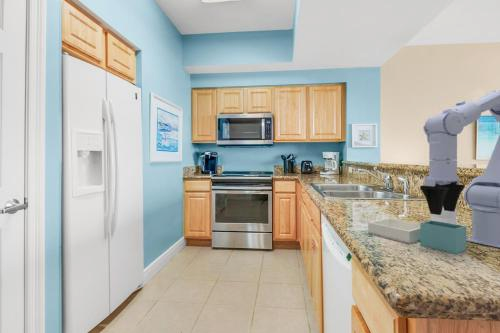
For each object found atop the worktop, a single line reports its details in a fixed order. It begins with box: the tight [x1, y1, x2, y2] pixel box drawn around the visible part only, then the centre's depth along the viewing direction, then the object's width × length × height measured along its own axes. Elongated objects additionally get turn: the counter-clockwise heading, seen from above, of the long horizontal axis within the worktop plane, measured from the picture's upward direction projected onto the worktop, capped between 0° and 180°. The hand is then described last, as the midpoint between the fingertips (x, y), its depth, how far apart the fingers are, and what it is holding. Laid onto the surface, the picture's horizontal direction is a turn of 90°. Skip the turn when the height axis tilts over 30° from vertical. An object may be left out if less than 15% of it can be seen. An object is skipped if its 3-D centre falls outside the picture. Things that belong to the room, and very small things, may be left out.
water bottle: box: [430, 181, 458, 225], centre depth 85 cm, size 7×7×25 cm
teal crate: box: [419, 219, 467, 255], centre depth 65 cm, size 6×8×6 cm
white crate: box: [367, 217, 420, 245], centre depth 76 cm, size 11×12×4 cm
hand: (442, 212), depth 65 cm, fingers open, 7 cm apart
